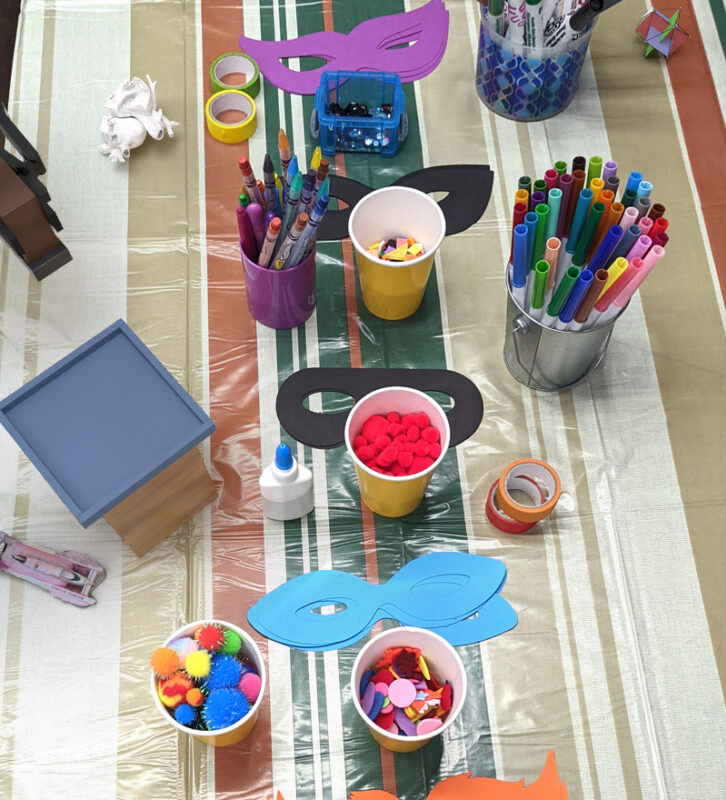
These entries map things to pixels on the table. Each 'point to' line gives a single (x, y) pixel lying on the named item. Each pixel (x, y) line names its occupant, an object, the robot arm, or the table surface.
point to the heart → (132, 119)
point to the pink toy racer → (52, 569)
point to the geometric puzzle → (661, 32)
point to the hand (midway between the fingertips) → (37, 234)
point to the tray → (103, 422)
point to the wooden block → (163, 503)
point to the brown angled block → (30, 226)
